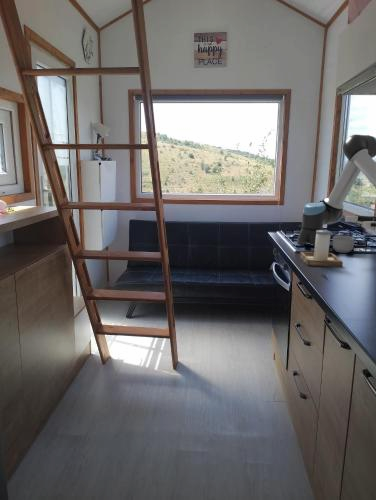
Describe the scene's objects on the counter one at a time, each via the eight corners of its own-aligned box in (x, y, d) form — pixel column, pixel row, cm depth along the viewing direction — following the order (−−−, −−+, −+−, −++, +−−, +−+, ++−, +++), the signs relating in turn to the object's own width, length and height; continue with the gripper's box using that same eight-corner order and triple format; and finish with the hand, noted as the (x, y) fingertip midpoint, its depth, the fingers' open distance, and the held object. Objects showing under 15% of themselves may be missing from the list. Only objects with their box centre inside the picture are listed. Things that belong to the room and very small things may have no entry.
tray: (299, 256, 197) (300, 251, 197) (332, 258, 196) (332, 253, 196) (307, 265, 182) (307, 260, 181) (342, 267, 181) (342, 261, 180)
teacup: (354, 254, 204) (356, 240, 202) (332, 253, 206) (334, 238, 204) (349, 248, 218) (351, 234, 216) (328, 247, 220) (330, 233, 218)
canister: (310, 257, 191) (313, 230, 188) (322, 257, 193) (325, 229, 189) (318, 261, 185) (321, 232, 181) (330, 261, 186) (334, 232, 183)
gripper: (410, 234, 180) (370, 235, 175) (373, 223, 203) (337, 223, 198) (413, 218, 178) (373, 218, 173) (376, 209, 201) (340, 209, 196)
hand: (354, 221), depth 186 cm, fingers open, 13 cm apart
